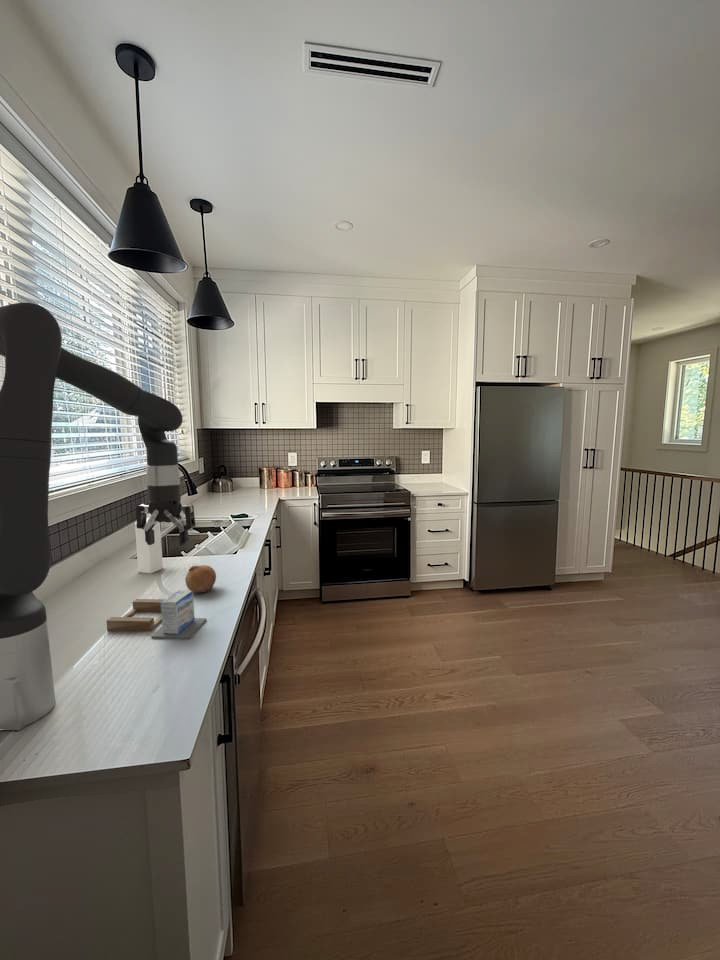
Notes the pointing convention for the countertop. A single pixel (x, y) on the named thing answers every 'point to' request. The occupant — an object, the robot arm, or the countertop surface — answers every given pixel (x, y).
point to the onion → (200, 578)
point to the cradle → (137, 623)
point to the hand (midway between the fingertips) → (167, 544)
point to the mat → (184, 634)
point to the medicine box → (177, 612)
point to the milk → (149, 550)
